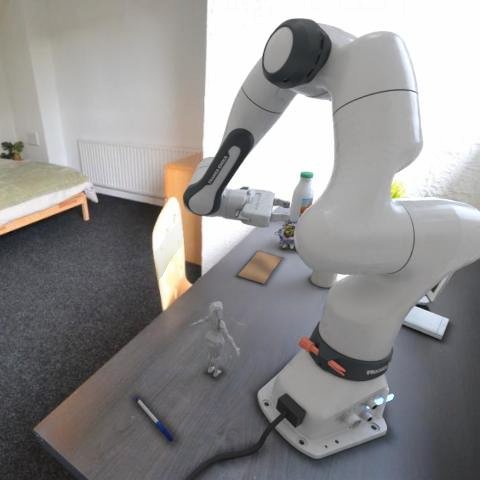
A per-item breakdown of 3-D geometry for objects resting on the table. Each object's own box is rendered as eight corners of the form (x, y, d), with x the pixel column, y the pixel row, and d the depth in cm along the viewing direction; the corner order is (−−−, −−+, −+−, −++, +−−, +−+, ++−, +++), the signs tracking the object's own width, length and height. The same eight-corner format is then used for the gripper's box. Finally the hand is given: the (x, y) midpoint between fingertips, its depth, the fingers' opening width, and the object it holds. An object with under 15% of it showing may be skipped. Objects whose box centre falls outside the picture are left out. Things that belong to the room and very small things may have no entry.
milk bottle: (290, 223, 134) (298, 175, 125) (287, 216, 141) (294, 169, 132) (310, 224, 133) (320, 175, 124) (306, 217, 140) (315, 170, 131)
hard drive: (380, 310, 83) (443, 335, 75) (390, 296, 88) (449, 317, 80) (379, 315, 84) (440, 340, 76) (388, 301, 89) (447, 323, 81)
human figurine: (242, 385, 66) (251, 313, 58) (231, 397, 63) (239, 324, 55) (195, 353, 73) (198, 286, 65) (184, 363, 71) (185, 294, 63)
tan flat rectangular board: (263, 284, 97) (263, 283, 97) (237, 276, 101) (237, 275, 101) (281, 258, 110) (281, 257, 110) (258, 252, 114) (258, 251, 114)
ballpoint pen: (174, 439, 57) (174, 435, 56) (171, 442, 56) (170, 439, 56) (137, 398, 64) (137, 395, 63) (133, 401, 63) (133, 397, 63)
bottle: (324, 290, 94) (338, 232, 86) (306, 279, 99) (317, 223, 91) (339, 283, 96) (354, 227, 88) (320, 273, 101) (333, 218, 93)
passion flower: (282, 261, 119) (266, 232, 118) (300, 247, 124) (284, 219, 123) (308, 256, 109) (291, 224, 108) (326, 241, 114) (309, 210, 113)
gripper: (234, 207, 86) (290, 213, 82) (244, 184, 103) (292, 188, 99) (232, 229, 89) (286, 236, 85) (242, 203, 106) (288, 208, 102)
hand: (289, 210), depth 92 cm, fingers open, 8 cm apart
